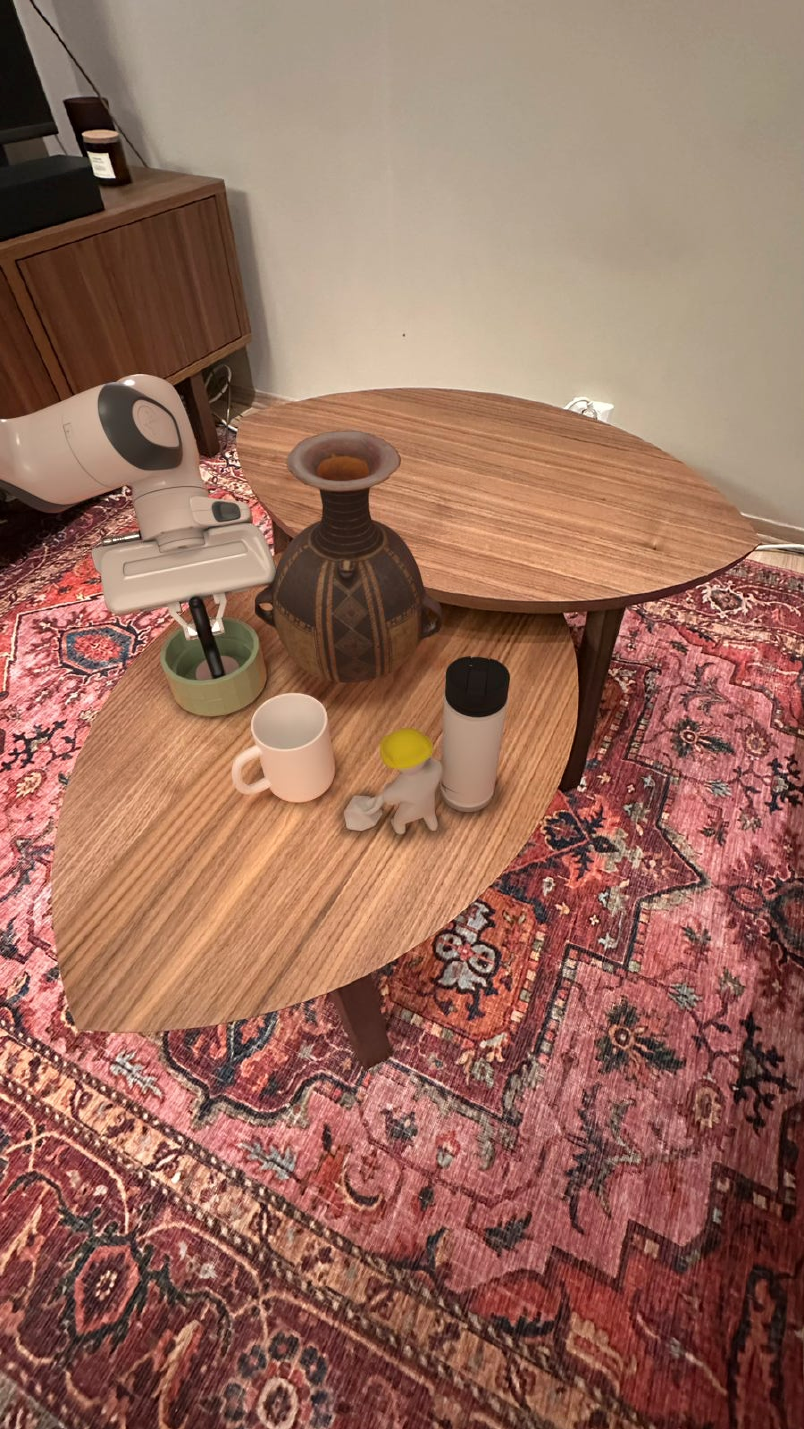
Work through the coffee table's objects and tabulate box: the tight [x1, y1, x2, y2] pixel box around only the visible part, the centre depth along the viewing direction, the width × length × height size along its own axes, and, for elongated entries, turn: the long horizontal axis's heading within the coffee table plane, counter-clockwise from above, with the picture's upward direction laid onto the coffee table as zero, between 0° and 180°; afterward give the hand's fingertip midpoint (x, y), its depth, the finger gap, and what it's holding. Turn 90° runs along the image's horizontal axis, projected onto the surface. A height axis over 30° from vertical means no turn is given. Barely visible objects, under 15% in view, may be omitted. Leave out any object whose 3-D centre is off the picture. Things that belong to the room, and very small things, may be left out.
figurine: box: [343, 727, 443, 835], centre depth 72 cm, size 10×9×15 cm
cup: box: [231, 692, 336, 803], centre depth 77 cm, size 8×12×10 cm
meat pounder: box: [187, 596, 239, 681], centre depth 84 cm, size 6×6×14 cm
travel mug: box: [439, 655, 511, 813], centre depth 72 cm, size 6×7×20 cm
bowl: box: [159, 616, 268, 717], centre depth 89 cm, size 12×12×6 cm
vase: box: [254, 429, 443, 684], centre depth 83 cm, size 23×19×30 cm
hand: (206, 637), depth 83 cm, fingers closed on meat pounder
